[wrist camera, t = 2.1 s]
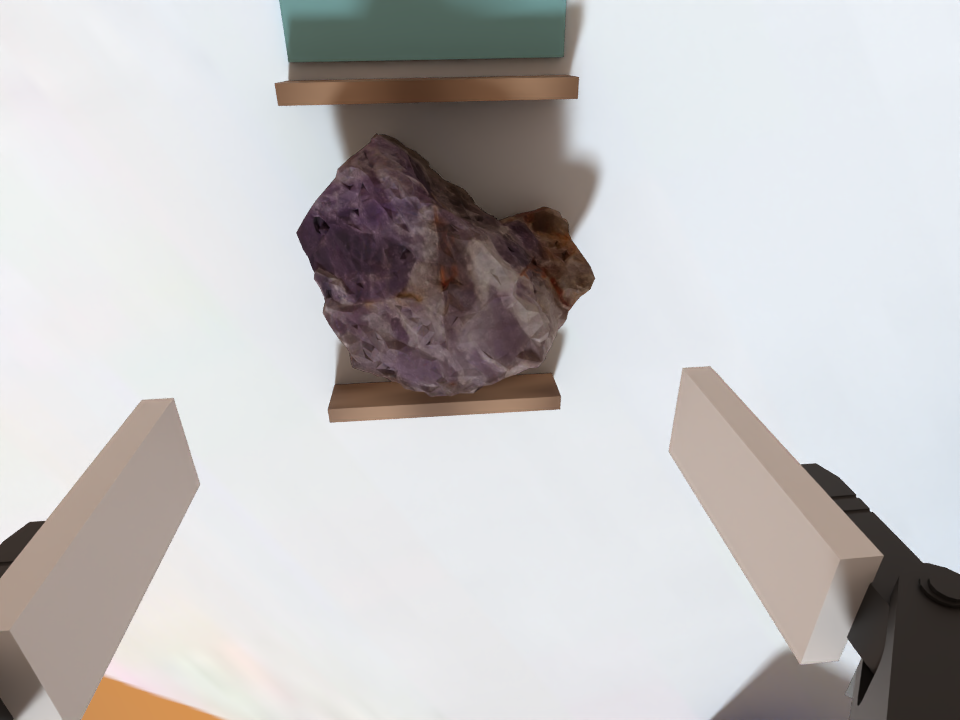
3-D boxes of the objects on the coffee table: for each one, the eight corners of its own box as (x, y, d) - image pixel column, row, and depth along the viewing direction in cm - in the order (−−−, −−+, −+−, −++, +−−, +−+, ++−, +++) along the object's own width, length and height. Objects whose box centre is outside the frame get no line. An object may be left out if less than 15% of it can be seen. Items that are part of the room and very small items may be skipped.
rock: (404, 97, 27) (301, 274, 30) (363, 82, 19) (228, 325, 22) (605, 244, 29) (488, 395, 32) (644, 287, 21) (484, 481, 24)
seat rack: (590, -448, 19) (612, -515, 16) (551, 385, 33) (560, 409, 31) (205, -462, 18) (174, -534, 16) (336, 397, 32) (329, 422, 30)
